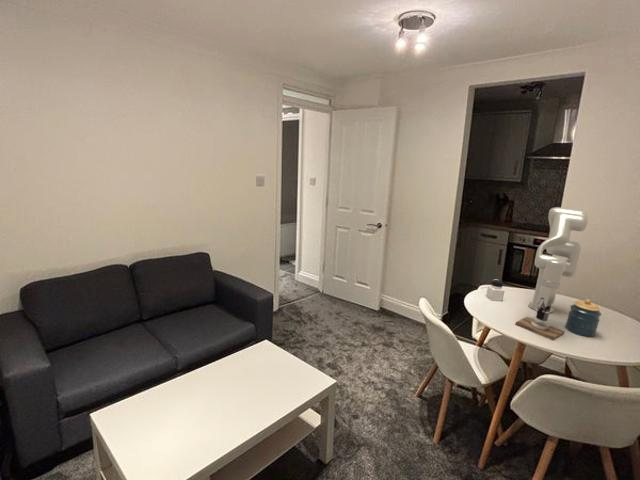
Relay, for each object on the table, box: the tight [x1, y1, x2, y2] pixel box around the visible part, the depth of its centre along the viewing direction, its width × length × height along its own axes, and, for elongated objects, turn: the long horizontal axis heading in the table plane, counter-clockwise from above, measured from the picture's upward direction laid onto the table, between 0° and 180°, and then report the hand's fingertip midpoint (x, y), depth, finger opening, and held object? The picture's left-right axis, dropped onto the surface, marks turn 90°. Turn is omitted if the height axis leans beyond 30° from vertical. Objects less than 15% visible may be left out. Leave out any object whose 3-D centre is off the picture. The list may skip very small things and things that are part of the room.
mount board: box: [515, 316, 565, 341], centre depth 181 cm, size 13×18×3 cm
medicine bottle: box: [485, 279, 505, 302], centre depth 217 cm, size 7×7×12 cm
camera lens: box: [536, 309, 551, 322], centre depth 179 cm, size 5×5×5 cm
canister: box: [565, 298, 602, 338], centre depth 181 cm, size 13×13×18 cm
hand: (542, 317), depth 179 cm, fingers closed on camera lens, 5 cm apart
